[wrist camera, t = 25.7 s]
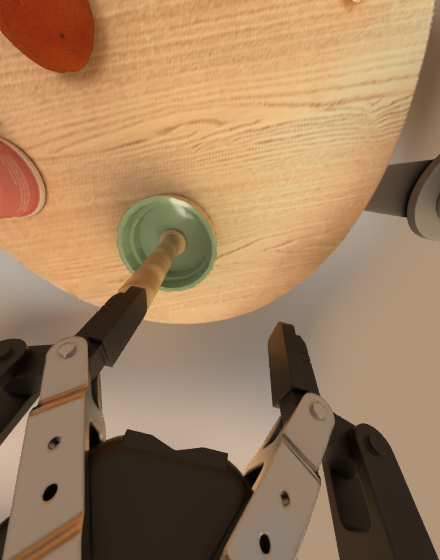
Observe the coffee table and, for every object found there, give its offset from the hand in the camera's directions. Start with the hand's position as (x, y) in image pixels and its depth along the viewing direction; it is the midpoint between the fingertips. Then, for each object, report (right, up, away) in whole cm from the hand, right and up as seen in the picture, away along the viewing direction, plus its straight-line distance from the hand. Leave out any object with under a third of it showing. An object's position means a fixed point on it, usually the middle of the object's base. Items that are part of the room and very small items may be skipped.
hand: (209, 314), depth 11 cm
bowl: (-7, +9, +21) cm, 24 cm away
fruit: (-17, +30, +10) cm, 36 cm away
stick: (-7, +9, +20) cm, 23 cm away
